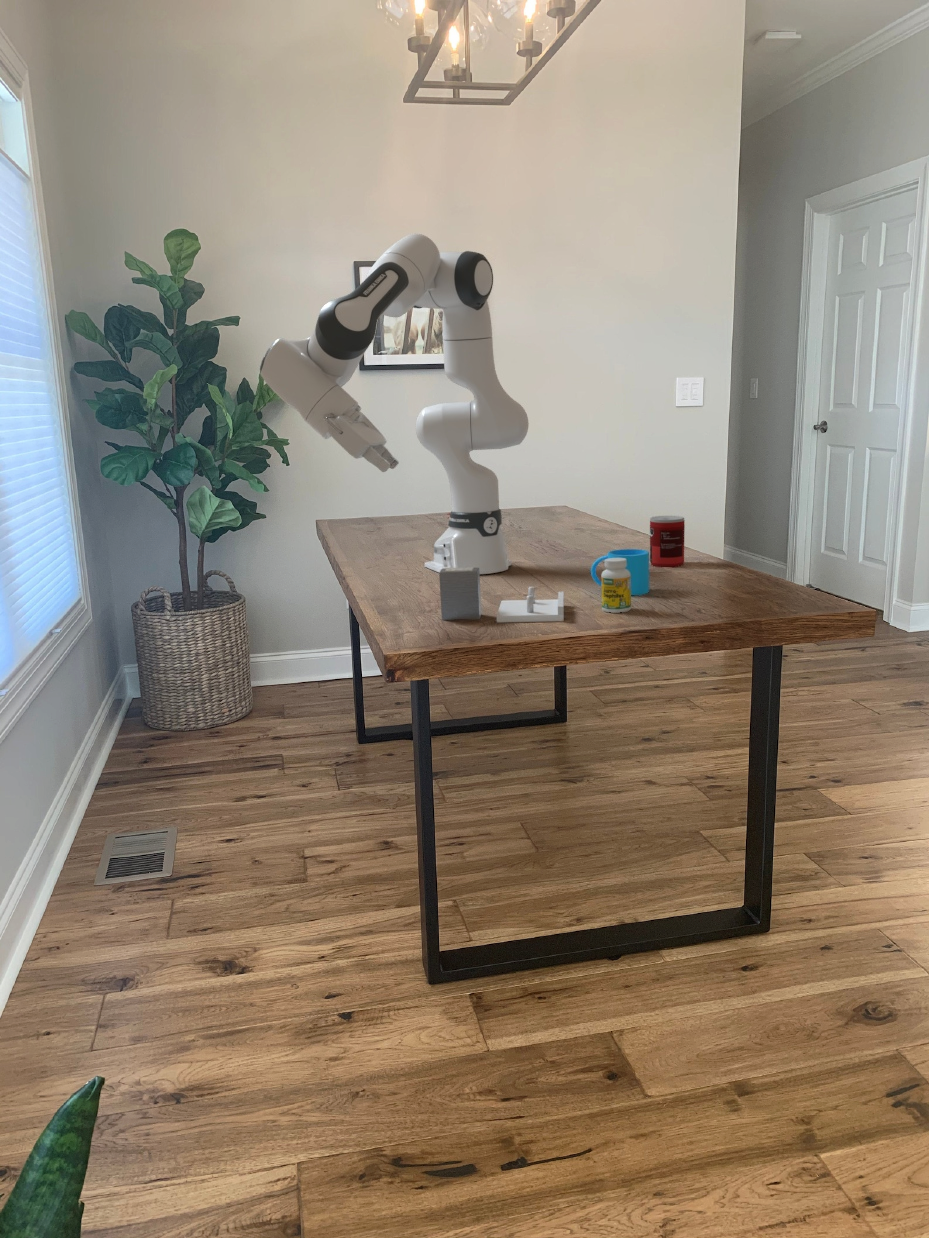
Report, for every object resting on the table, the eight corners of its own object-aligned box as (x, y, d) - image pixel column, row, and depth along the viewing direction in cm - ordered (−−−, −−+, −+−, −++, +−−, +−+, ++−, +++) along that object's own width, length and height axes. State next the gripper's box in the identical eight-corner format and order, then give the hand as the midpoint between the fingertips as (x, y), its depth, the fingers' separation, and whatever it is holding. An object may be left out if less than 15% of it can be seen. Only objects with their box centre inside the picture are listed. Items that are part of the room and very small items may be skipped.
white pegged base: (496, 622, 167) (495, 599, 166) (501, 606, 179) (501, 585, 178) (563, 621, 165) (563, 598, 164) (563, 605, 178) (563, 583, 177)
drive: (441, 620, 171) (439, 571, 169) (444, 615, 175) (442, 567, 172) (479, 619, 170) (477, 570, 168) (481, 614, 174) (479, 566, 172)
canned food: (662, 560, 220) (662, 514, 217) (691, 564, 214) (691, 516, 212) (642, 565, 215) (642, 518, 212) (671, 569, 209) (671, 520, 207)
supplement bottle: (633, 607, 173) (633, 557, 171) (627, 614, 169) (627, 562, 166) (605, 606, 175) (604, 556, 173) (598, 612, 171) (598, 561, 168)
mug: (653, 589, 189) (653, 549, 187) (642, 597, 182) (642, 556, 180) (597, 586, 194) (596, 548, 192) (584, 594, 187) (584, 554, 185)
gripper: (333, 400, 155) (394, 457, 156) (357, 402, 175) (411, 452, 176) (309, 429, 156) (370, 485, 157) (335, 427, 176) (389, 477, 177)
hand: (392, 467), depth 167 cm, fingers open, 8 cm apart
